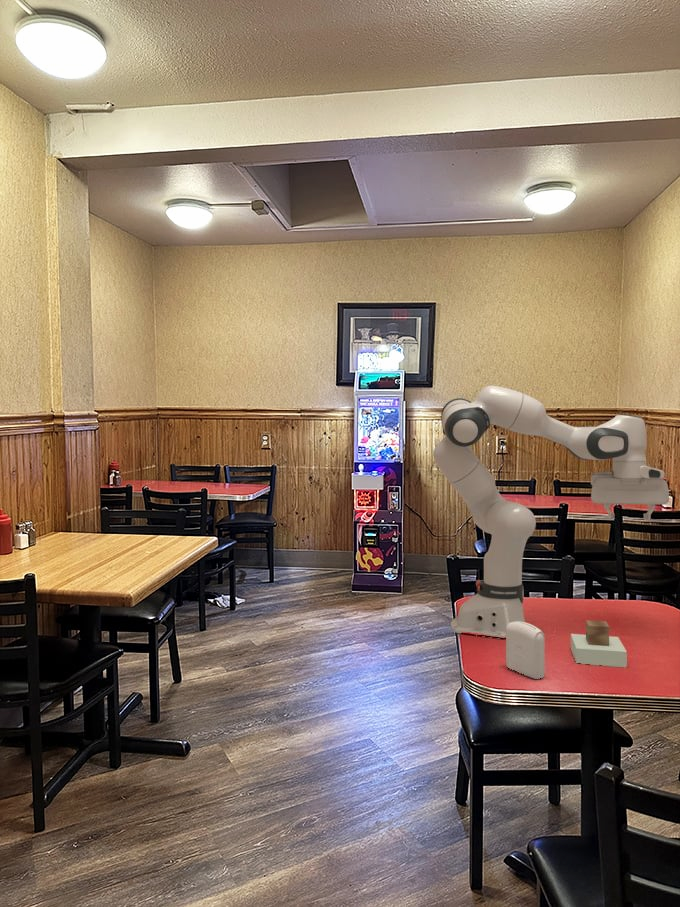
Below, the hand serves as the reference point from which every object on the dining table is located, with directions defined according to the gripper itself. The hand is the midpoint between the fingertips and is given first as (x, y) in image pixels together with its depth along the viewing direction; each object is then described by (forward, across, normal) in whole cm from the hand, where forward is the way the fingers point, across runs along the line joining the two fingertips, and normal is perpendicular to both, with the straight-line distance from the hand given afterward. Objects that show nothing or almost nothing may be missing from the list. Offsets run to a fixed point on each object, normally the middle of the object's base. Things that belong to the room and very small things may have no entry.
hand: (629, 519), depth 181 cm
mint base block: (+34, -11, -19) cm, 41 cm away
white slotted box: (+34, -30, -34) cm, 57 cm away
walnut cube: (+30, -11, -19) cm, 37 cm away
